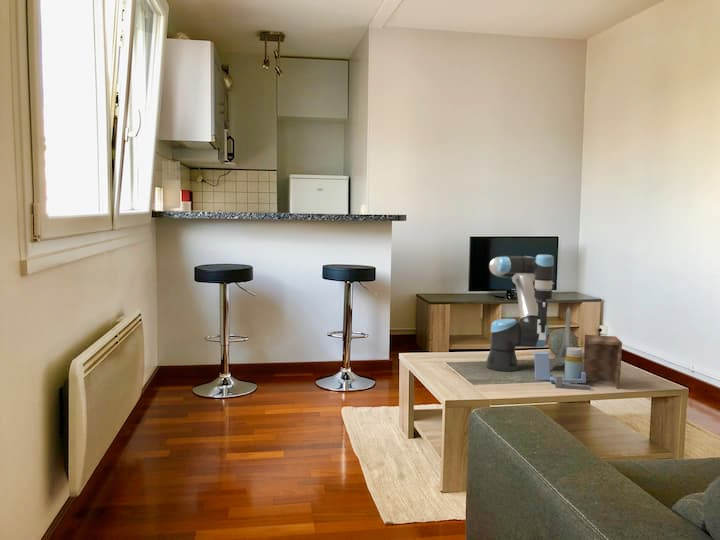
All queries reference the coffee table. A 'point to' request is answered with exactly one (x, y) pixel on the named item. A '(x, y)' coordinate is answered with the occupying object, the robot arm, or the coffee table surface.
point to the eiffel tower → (563, 344)
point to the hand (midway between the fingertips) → (541, 336)
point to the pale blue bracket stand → (544, 372)
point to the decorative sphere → (559, 340)
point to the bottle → (573, 363)
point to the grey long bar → (569, 386)
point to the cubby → (602, 358)
